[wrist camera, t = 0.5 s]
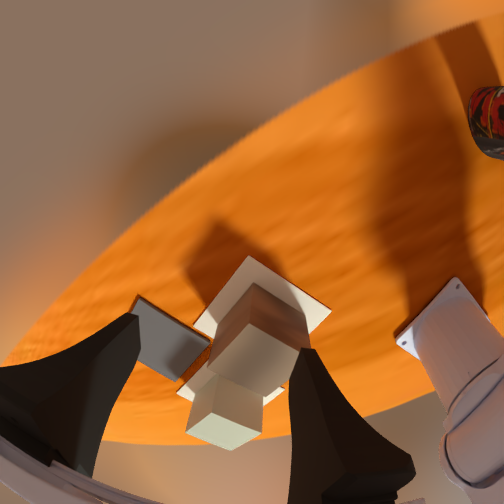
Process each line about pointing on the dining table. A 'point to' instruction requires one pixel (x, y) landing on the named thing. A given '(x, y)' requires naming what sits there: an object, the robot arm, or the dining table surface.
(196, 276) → the dining table surface
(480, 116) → the deodorant
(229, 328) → the walnut block
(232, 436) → the sage block
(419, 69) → the dining table surface
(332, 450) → the robot arm
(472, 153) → the dining table surface
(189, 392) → the card
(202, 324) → the card
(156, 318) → the coaster
